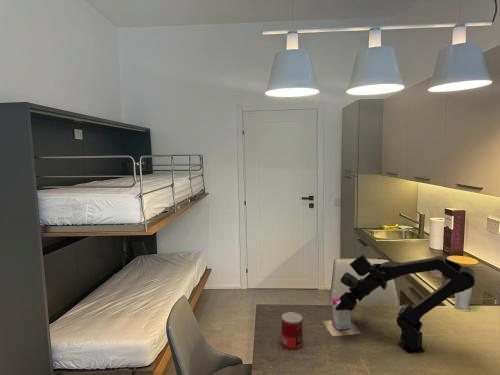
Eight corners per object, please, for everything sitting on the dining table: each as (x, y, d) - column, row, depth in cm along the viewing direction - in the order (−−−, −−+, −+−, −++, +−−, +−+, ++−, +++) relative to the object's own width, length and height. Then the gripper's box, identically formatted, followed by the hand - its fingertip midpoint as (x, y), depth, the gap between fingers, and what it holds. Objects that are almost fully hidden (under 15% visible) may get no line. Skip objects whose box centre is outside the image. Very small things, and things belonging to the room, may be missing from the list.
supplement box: (351, 329, 139) (351, 302, 138) (338, 331, 138) (338, 304, 137) (344, 322, 145) (344, 296, 144) (331, 324, 143) (331, 298, 142)
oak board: (348, 321, 148) (348, 318, 148) (361, 336, 136) (361, 333, 136) (322, 323, 147) (322, 321, 146) (332, 338, 135) (332, 336, 135)
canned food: (300, 351, 125) (300, 323, 124) (279, 347, 128) (279, 320, 126) (304, 340, 132) (304, 313, 131) (284, 337, 135) (284, 310, 134)
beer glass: (454, 303, 160) (455, 273, 158) (471, 307, 155) (473, 276, 154) (451, 309, 154) (453, 277, 153) (469, 313, 150) (471, 281, 148)
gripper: (360, 261, 143) (335, 281, 151) (345, 275, 128) (318, 296, 136) (379, 283, 139) (352, 302, 147) (366, 300, 124) (336, 321, 132)
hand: (340, 305), depth 140 cm, fingers open, 9 cm apart
